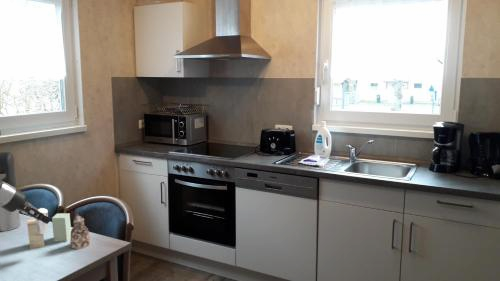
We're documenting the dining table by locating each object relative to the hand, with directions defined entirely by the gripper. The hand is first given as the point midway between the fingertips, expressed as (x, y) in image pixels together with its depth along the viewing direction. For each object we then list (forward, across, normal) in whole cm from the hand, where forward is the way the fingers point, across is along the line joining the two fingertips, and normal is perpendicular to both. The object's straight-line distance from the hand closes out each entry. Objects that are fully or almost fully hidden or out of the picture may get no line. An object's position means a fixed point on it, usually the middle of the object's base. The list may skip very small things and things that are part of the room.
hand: (45, 219), depth 151 cm
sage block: (+16, +9, +3) cm, 18 cm away
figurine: (+17, -2, +2) cm, 18 cm away
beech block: (+9, +10, +10) cm, 17 cm away
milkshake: (+2, 0, +5) cm, 5 cm away
